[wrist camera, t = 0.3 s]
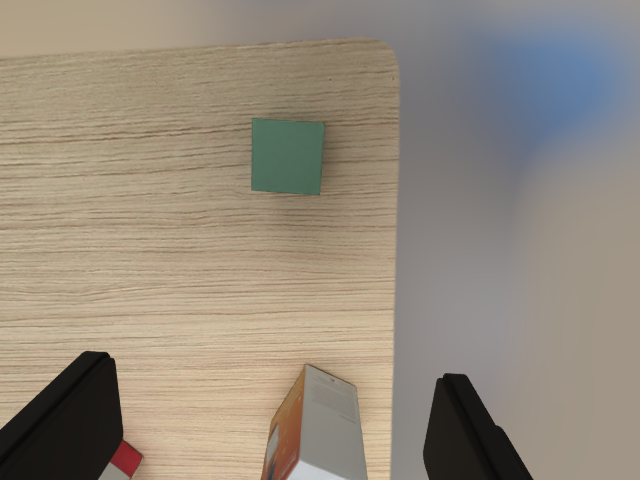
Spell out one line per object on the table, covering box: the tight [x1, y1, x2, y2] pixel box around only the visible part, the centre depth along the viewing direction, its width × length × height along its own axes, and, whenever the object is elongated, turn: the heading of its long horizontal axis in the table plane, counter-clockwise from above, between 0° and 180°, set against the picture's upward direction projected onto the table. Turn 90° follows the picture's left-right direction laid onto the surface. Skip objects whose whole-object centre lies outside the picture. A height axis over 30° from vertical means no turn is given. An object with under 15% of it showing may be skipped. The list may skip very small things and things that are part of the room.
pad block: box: [251, 118, 325, 195], centre depth 26 cm, size 4×4×6 cm
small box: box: [261, 365, 368, 480], centre depth 31 cm, size 8×6×10 cm
